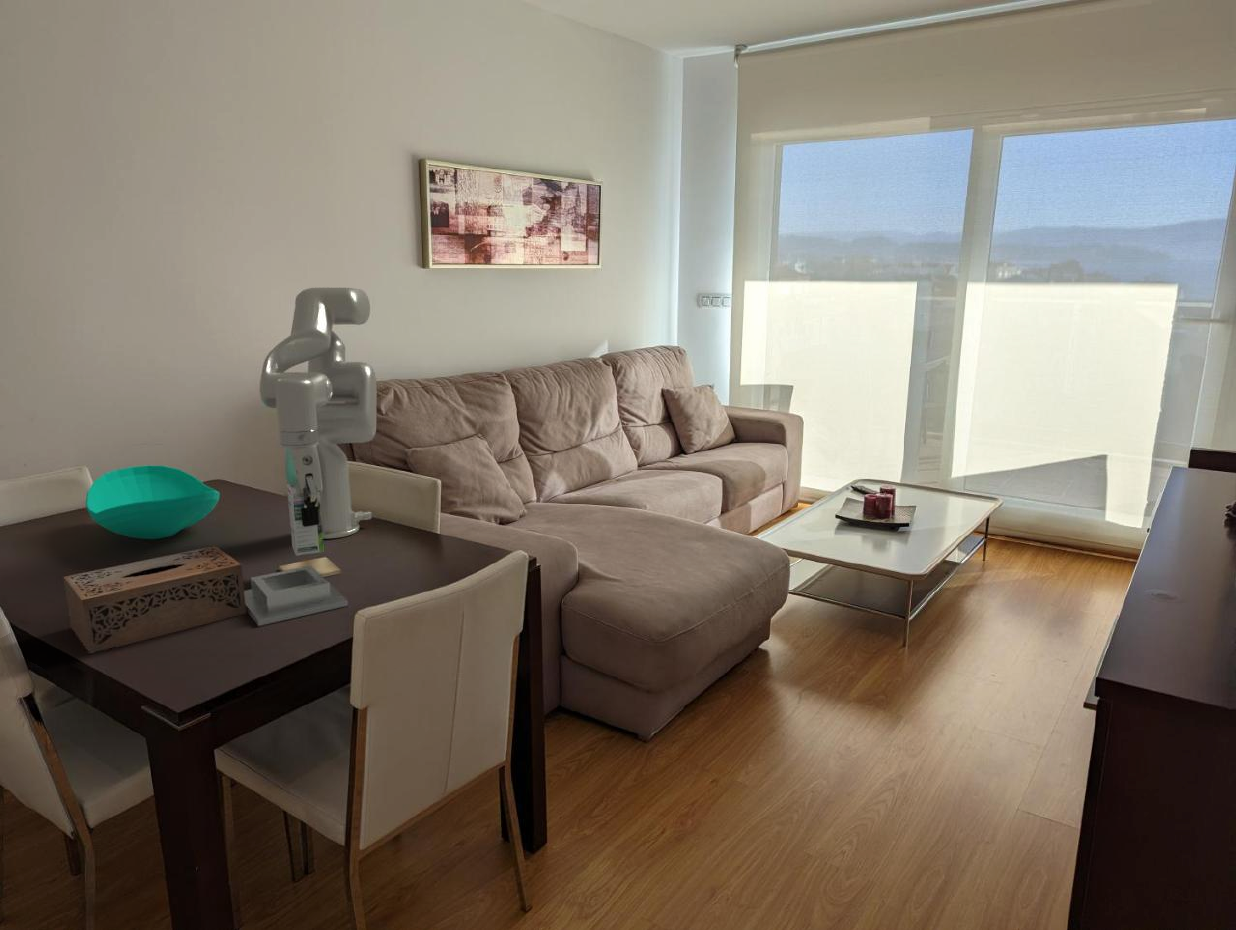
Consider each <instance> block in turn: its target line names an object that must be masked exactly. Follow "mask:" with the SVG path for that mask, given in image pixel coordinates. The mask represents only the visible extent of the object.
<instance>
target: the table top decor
mask: <svg viewBox="0 0 1236 930" xmlns="http://www.w3.org/2000/svg"><path fill="white" fill-rule="evenodd" d="M220 495H221V494H220V492H219V491H218V490H216V489H214V488H212V487H210V486H208V485H206V484H205V483H203V482H202V481H201V480H199V479H198V478H197V477H196V476H194V475H192V474H190V473H188V472H186V471H183V470H181V469H180V468H179V469H178V468H175V467H172V466H166V465H149V464H148V465H139V466H137V465H136V466H131V467H125V468H118V469H115V470H112V471H109V472H106V473H104V474H102V475H101V476H100V477H99V478H96V480H94V481H93V482H92V484H91V486H90V487H89V489H88V491H87V493H86V500H85V507H86V509H87V512H88V513H89V515H90V518H91V519H93V521H95V522H96V523H97V524H98V525H99V526H101V527H103V528H105V529H107V530H109V531H110V532H112V533H114V534H116V535H121V536H124V537H129V538H137V539H144V540H145V539H147V540H156V539H163V538H167V537H168V538H169V537H172V536H174V535H176V534H178V533H179V532H180V531H181V530H184V529H186V528H189V527H191V526H193V525H194V524H196V523H198V522H199V521H201V520H203V519H204V518H206V517H207V515H209V514H210V513H211V512H212V511H213V510H214V509H215V507H216V506H217V505H218V503H219V500H220Z"/></svg>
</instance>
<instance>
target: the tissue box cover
mask: <svg viewBox="0 0 1236 930" xmlns="http://www.w3.org/2000/svg"><path fill="white" fill-rule="evenodd" d="M242 569H243V568H242V563H240V562H238V561H237V560H236V559H234V558H233V557H232V556H230V555H228V554H227V553H225V551H223V550H221V549H220V548H219V547H217V546H216V545H212V546H208V547H203V548H198V549H197V548H196V549H193V550H188V551H184V552H183V551H182V552H178V553H174V554H170V555H164V556H158V557H153V558H150V559H144V560H140V561H135V562H130V563H124V564H118V565H115V566H110V567H105V568H100V569H95V570H91V571H86V572H81V573H75V574H71V575H67V576H63V577H62V578H63V585H64V591H65V596H66V603H67V608H68V609H67V610H68V616H69V623H70V628H71V627H72V628H71V630H72V629H73V630H74V631H75V633H76V634H77V635H76V634H75V633H74V634H75V635H76V637H77V636H78V637H79V638H78V637H77V638H78V640H79V639H80V640H81V641H80V640H79V641H80V643H81V642H82V643H83V644H82V643H81V644H82V645H83V647H84V646H85V647H86V648H87V650H88V651H89V652H88V651H87V650H86V651H87V652H88V654H89V653H91V652H96V651H100V650H104V649H108V648H112V647H116V648H121V647H123V646H127V645H131V644H135V643H138V642H141V641H142V642H143V641H146V640H149V639H154V638H157V637H161V636H164V635H169V634H173V633H176V632H180V631H184V630H188V629H193V628H196V627H199V626H204V625H207V624H211V623H216V622H218V621H222V620H226V619H229V618H233V617H238V616H242V615H246V614H247V611H246V605H245V595H244V591H245V588H244V577H243V570H242ZM73 630H72V631H73ZM74 631H73V632H74ZM85 647H84V648H85ZM86 648H85V649H86ZM112 649H113V648H112ZM108 650H109V649H108ZM104 651H105V650H104Z"/></svg>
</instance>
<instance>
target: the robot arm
mask: <svg viewBox="0 0 1236 930" xmlns="http://www.w3.org/2000/svg"><path fill="white" fill-rule="evenodd" d="M294 303H295V304H294V305H295V306H294V312H293V316H292V317H293V318H292V323H291V331H290V335H289V336H287V337H286V338H284V339H283V340H281V342H279V343H278V344H277V345H276V346H275V347H273V348H272V349H271V350H270V351H269V353H268V354H267V355H266V356H265V358H264V361H263V364H262V369H261V374H260V378H259V396H260V399H261V401H262V403H263V404H264V405H265V406H266V407H268V408H272V409H276V412H277V413H276V414H277V425H278V438H279V446H280V447H281V448H284V451H283V453H284V467H285V468H284V472H285V480H286V486H287V485H288V484H290V485H292V486H293V487H294V488H295V489H296V492H297V493H298V494H300V495H301V500H302V505H303V508H301V512H302V524H303V526H304V527H307V526H313V525H318V524H319V517H318V503H317V491H318V492H319V495H320V508H321V520H322V533H323V540H324V539H325V540H326V539H339V538H344V537H348V536H350V535H354V534H356V533H357V532H358V531H359V530H360V524H359V523H360V521H368V520H371V519H372V518H373V515H372V512H371V511H362V510H361V511H359V510H358V511H356V512H355V511H354V510H352V501H351V500H352V499H351V498H352V497H351V487H350V471H349V461H348V458H347V455H346V454H345V453H344V452H343V449H341V448H340V447H339V446H338V445H337V444H340V445H341V444H360V443H368V442H371V441H372V440H373V439H374V438H375V436H376V433H377V401H378V400H377V393H378V392H377V388H378V387H377V378H376V372H375V370H374V368H373V367H372V365H370V364H369V363H367V362H362V361H346V346H345V343H344V342H343V340H342V339H341V338H340V337H339V335H338V334H337V333H336V332H334V331H333V325H340V326H341V325H359V326H360V325H364V324H366V322H367V321H368V320H369V317H370V314H371V304H370V299H369V297H368V295H367V293H366V292H365V290H364V289H361V288H354V287H309V288H306V289H302V291H301V292H300V293H298V294H297V295H296V297H295V302H294ZM306 362H307V372H305V371H304V372H299V371H297V372H295V371H293V372H292V371H291V372H289V371H288V370H289V369H291V368H293V367H295V366H297V365H300V364H303V363H306ZM286 371H288V372H286ZM330 402H332V403H330ZM333 402H335V403H333ZM337 402H339V403H337ZM340 402H342V403H340ZM343 402H344V403H343ZM345 402H347V403H345ZM348 402H349V403H348ZM351 402H352V403H351ZM353 402H354V403H353ZM315 486H316V487H315ZM316 488H317V489H316ZM303 490H308V491H309V492H305V493H304V491H303ZM305 496H309V497H307V499H305Z"/></svg>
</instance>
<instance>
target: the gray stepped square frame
mask: <svg viewBox="0 0 1236 930" xmlns="http://www.w3.org/2000/svg"><path fill="white" fill-rule="evenodd" d="M250 584H251V589H247V590H244V595H245V605H246V613H248V614H249V616H250V617H251V618H252V620H253V621H254V622H255V624H256V625H257V626H258V627H262V626H266V625H271V624H274V623H278V622H283V621H287V620H292V619H298V618H300V617H304V616H309V615H313V614H319V613H322V612H326V611H327V612H328V611H331V610H335V609H340V608H344V607H347V606H348V605H349V603H348V599H347V598H346V597H345V596H344V595H342V594H341V592H339V591H338V590H337V589H336V588H335V587H334V586H333V585H332V584H331V583H330V581H328V580H327V579H326V578H325V577H323V576H322V575H321V574H320V573H318V572H317V571H316V570H315V569H314V568H313V567H312V566H307V567H302V568H297V569H292V570H287V571H282V572H281V571H278V572H272V573H268V574H262V575H257V576H253V577H250Z"/></svg>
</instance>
